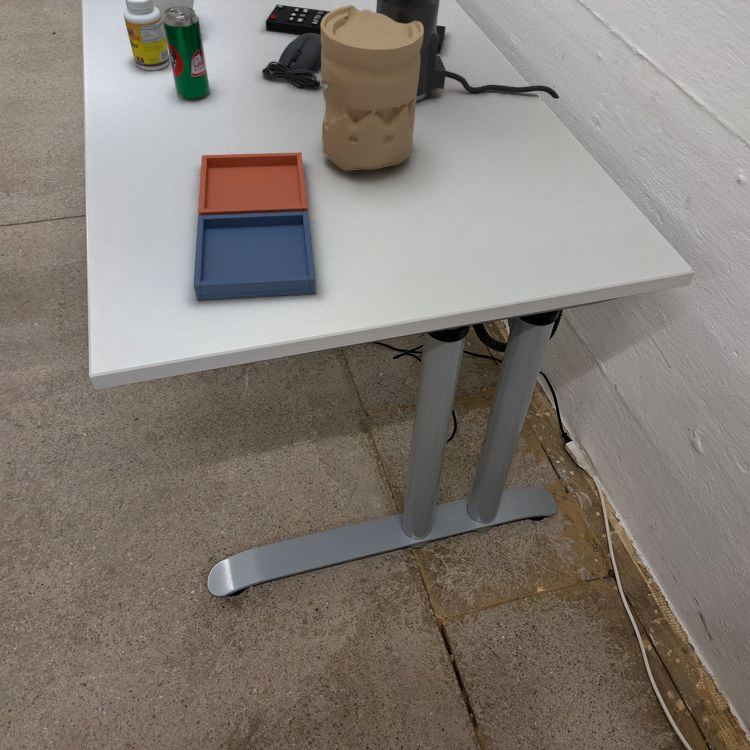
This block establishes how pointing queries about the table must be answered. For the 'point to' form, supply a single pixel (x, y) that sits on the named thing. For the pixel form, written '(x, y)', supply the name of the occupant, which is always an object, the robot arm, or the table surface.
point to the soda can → (186, 52)
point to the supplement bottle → (146, 34)
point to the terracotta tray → (252, 184)
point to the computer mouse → (299, 62)
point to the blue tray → (253, 255)
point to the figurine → (171, 5)
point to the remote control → (309, 21)
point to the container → (368, 87)
